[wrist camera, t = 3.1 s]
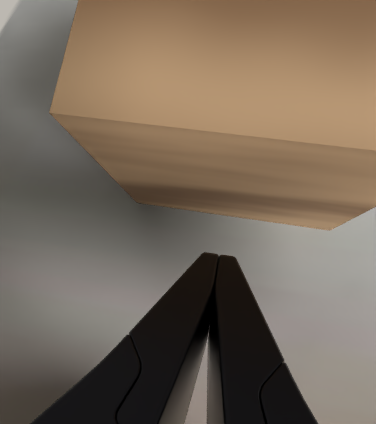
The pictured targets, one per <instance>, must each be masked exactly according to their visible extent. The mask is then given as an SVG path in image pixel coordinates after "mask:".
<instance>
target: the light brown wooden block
mask: <svg viewBox="0 0 376 424" xmlns="http://www.w3.org/2000/svg"><path fill="white" fill-rule="evenodd" d="M49 113H50V114H51V115H52V116H53V117H54V118H55V119H56V120H57V121H58V122H59V123H60V124H61V125H62V126H63V127H64V129H65V130H66V131H67V132H68V133H69V134H70V135H71V136H72V137H73V138H74V139H75V140H76V141H77V142H78V143H79V144H80V145H81V146H82V147H83V148H84V149H85V150H86V151H87V152H88V153H89V154H90V155H91V156H92V157H93V158H94V159H95V160H96V161H97V162H98V163H99V164H100V165H101V166H102V167H103V169H104V170H105V171H106V172H107V173H108V174H109V175H110V176H111V177H112V178H113V179H114V180H115V181H116V182H117V183H118V184H119V185H120V186H121V187H122V188H123V189H124V190H125V191H126V192H127V193H128V194H129V195H130V196H131V197H132V198H133V199H134V200H135V201H136V202H137V203H142V204H149V205H156V206H163V207H170V208H177V209H184V210H191V211H198V212H205V213H212V214H219V215H226V216H233V217H239V218H246V219H253V220H260V221H267V222H274V223H281V224H288V225H295V226H302V227H309V228H316V229H323V230H332V229H334V228H336V227H338V226H339V225H341V224H343V223H345V222H347V221H349V220H351V219H353V218H355V217H357V216H359V215H361V214H363V213H365V212H367V211H368V210H370V209H372V208H374V207H376V0H78V4H77V8H76V12H75V16H74V20H73V23H72V27H71V31H70V35H69V39H68V43H67V46H66V50H65V54H64V58H63V62H62V66H61V69H60V73H59V77H58V81H57V85H56V89H55V92H54V96H53V100H52V104H51V108H50V112H49Z"/></svg>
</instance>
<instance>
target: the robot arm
mask: <svg viewBox="0 0 376 424" xmlns="http://www.w3.org/2000/svg"><path fill="white" fill-rule="evenodd" d="M209 326H210V327H209ZM208 332H209V336H208ZM207 338H208V371H207V424H318V422H317V421H316V419H315V417H314V416H313V414H312V412H311V411H310V409H309V407H308V405H307V404H306V402H305V400H304V398H303V396H302V394H301V392H300V390H299V389H298V387H297V385H296V383H295V381H294V379H293V377H292V375H291V373H290V370H289V368H288V366H287V364H286V363H284V358H283V356H282V354H281V352H280V350H279V348H278V345H277V343H276V341H275V339H274V337H273V335H272V333H271V331H270V329H269V327H268V324H267V322H266V320H265V318H264V316H263V314H262V312H261V310H260V308H259V306H258V303H257V301H256V299H255V297H254V295H253V293H252V291H251V289H250V287H249V284H248V282H247V280H246V278H245V276H244V274H243V272H242V270H241V268H240V266H239V263H238V261H237V259H236V258H235V257H233V256H227V255H220V256H218V254H214V253H207V252H204V253H202V254H201V255H200V256H199V258H198V259H197V260H196V261H195V262H194V263H193V264H192V265H191V266H190V267H189V268H188V269H187V270H186V272H185V273H184V274H183V275H182V276H181V277H180V278H179V279H178V280H177V281H176V282H175V283H174V285H173V286H172V287H171V288H170V289H169V290H168V291H167V292H166V293H165V294H164V295H163V296H162V298H161V299H160V300H159V301H158V302H157V303H156V304H155V305H154V306H153V307H152V308H151V309H150V310H149V312H148V313H147V314H146V315H145V316H144V317H143V318H142V319H141V320H140V321H139V322H138V323H137V325H136V326H135V327H134V328H133V329H132V330H131V331H130V332H129V335H126V336H125V337H124V338H123V339H122V341H121V342H120V343H119V344H118V345H117V346H116V347H115V348H114V349H113V350H112V351H111V352H110V353H109V354H108V355H107V356H106V357H105V358H104V359H103V360H102V361H101V362H100V363H99V364H98V365H97V366H96V367H95V368H94V369H92V370H91V371H90V372H89V373H88V374H87V375H86V376H85V377H84V378H82V379H81V380H80V381H79V382H78V383H77V384H75V385H74V386H73V387H72V388H71V389H70V390H68V391H67V392H66V393H65V394H64V395H63V396H61V397H60V398H59V399H58V400H57V401H56V402H54V403H53V404H52V405H51V406H50V407H49V408H48V409H46V410H45V411H44V412H43V413H42V414H41V415H39V416H38V417H37V418H36V419H35V420H34V421H32V422H31V423H30V424H184V422H185V419H186V415H187V412H188V408H189V404H190V401H191V397H192V393H193V390H194V386H195V383H196V379H197V375H198V372H199V368H200V365H201V361H202V357H203V354H204V350H205V346H206V342H207Z"/></svg>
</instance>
